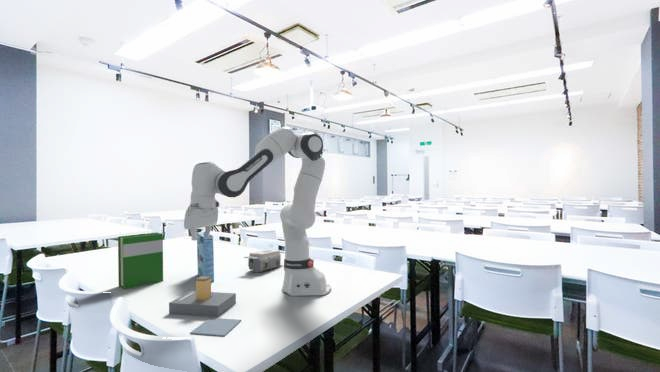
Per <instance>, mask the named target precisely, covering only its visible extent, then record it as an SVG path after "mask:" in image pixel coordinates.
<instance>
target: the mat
mask: <svg viewBox="0 0 660 372" xmlns="http://www.w3.org/2000/svg"><path fill="white" fill-rule="evenodd" d="M241 322H242V319H235V318H232V319H231V318H219V317H208V318H207V319H206V320H205V321H203V322H202V323H201V324H199V325H198V326H196V328H194V329H193V330H191V331H190V332H189V334H191V335H200V336H201V335H203V336H213V337H216V336H217V337H226V335H228V334H229V333H230V332H231V331H232V330H233V329H234V328H235V327H236V326H238V325H239V324H240V323H241Z"/></svg>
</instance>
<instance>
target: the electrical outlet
mask: <svg viewBox="0 0 660 372" xmlns="http://www.w3.org/2000/svg"><path fill="white" fill-rule="evenodd" d="M284 253H285V251H280V250H277V249H264V250H258V251H253V252H249V256H243V258H244V259H248V263H247V264H248V266H247V267H248V269H249V270H250V271H252V272H254V273H263V272H264V271H267V270H271V269H273V268H274V269H275V268H279V267H281V259H282V257H281V256H282V254H284Z"/></svg>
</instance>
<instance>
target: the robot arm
mask: <svg viewBox="0 0 660 372" xmlns="http://www.w3.org/2000/svg"><path fill="white" fill-rule="evenodd" d="M323 151H324V141H323V139H322V137H321V136H320V135H319V134H318V133H315V132H307V133H306V132H305V133H300V134H296V133H295V132H294V131H293V130H292V129H291V128H290V127H288V126H282V127H280V128H278V129H276V130H274V131H272V132H271V133H269V134H268V135H266V136H265V137H264V138H262V139H261V140H260V141H259V142H258V143H257V145H256V146H255V147H254V155H253V156H252V157H251V158H250V159H249V160H247V161H246V162H244V163H243V164H242V165H241V166H240V167H238V168H236V169H232V170H225V169H223V168H222V167H220V166H218V165H216V163H215V162H213V161H207V162H198V163H197V164H195V165H194V166H193V168H192V175H191V187H192V188H191V192H190V193H191V194H190V204H189V205H188V207H187V209H186V210H185V214H184V220H183V227H184V230H185V229H186V230H189V232H190V235H191V241H197V240H198V235H197V233H198V229H202V228H205V230H204V232H205V233H204V237H209V236H210V235H211V234H210V233H211V232H212V231H211V230H212V226H216V224H217V223H218V218H219V207H220V201H218V200H217V199H216V194H219V195H221V196H225V197H227V198H236V197H238V196H240V195H242V194H243V193H244V192H245V190H246V188H247V186H248V184H249V183H250V181H251V180H252V179H253V178H254V177H255V176H257V175H258V174H259V173H260V172H262V170H263V169H265V168H267V167H268V166H270V165H272V164H274V163H276V162H277V161H278V160H280V159H281V158H282V157H284V156H285V155H286V154H287V153H288V154H289V155H290V157H293V158H296V159H301V168H300V170H299V173H298V175H297V179H296V182H295V184H294V187H293V200H292V203H289V204H287V205H285V206H283V208H281V210H280V213H279V218H280V220H281V226H282V231H283V233H282V234H283V238H284V253H285V254H284V259H283V269H284V275H283V276H284V277H283V284H282V288H281V291H282V292H284V293H286V294H288V295H289V296H291V297H293V296H295V297H298V296H299V297H300V296H303V297H304V296H325V295H327V294H329V293H330V292H331V290H332V286H331V284H330V283H327V279H326V276H325V274H324V273H323V272H321V271H320V270H319V269H318V268H316V267H315V266H314V262H315V260H314V258H311V257H310V240H309V238H308V235H307V230H308V229H310V228H312V227H313V226H314V224H315V222H316V214H315V209H316V200H317V195H318V192H319V189H320V187H321V184H322V180H323V178H324V174H325V169H326V160H325V159H324V157H323V156H322V155H324V154H323V153H324V152H323Z"/></svg>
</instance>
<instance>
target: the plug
mask: <svg viewBox="0 0 660 372" xmlns="http://www.w3.org/2000/svg"><path fill="white" fill-rule="evenodd" d="M195 291H196V300H207V299H209V298H210V297H211V292H212V282H211V276H201V277H200V276H199V277H197V278H195Z"/></svg>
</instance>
